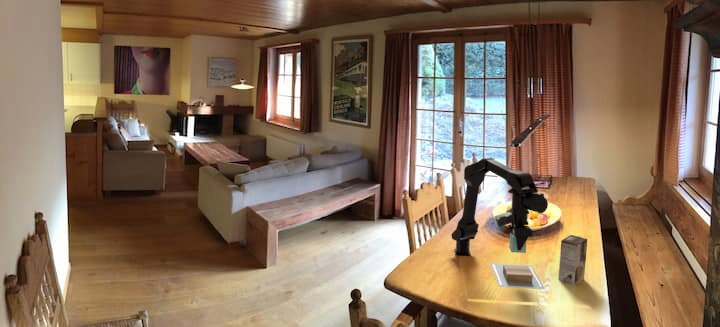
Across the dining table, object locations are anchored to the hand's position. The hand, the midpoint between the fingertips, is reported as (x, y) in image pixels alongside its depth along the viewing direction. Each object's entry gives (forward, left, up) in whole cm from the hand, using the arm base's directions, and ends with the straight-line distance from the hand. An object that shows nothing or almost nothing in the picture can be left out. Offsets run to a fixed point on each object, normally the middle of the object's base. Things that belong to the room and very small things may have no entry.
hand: (517, 247), depth 183 cm
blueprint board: (-2, 0, -12) cm, 13 cm away
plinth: (0, 0, -12) cm, 12 cm away
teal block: (0, 0, -1) cm, 1 cm away
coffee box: (-2, +20, -13) cm, 24 cm away
